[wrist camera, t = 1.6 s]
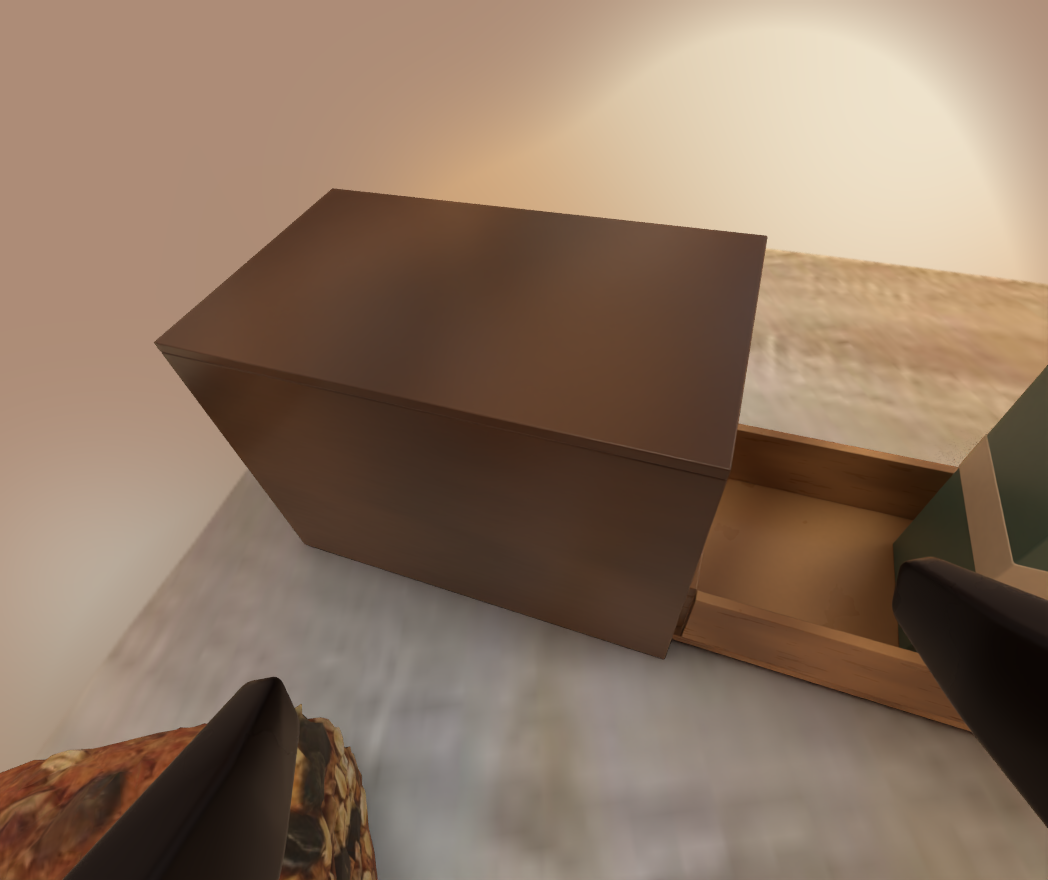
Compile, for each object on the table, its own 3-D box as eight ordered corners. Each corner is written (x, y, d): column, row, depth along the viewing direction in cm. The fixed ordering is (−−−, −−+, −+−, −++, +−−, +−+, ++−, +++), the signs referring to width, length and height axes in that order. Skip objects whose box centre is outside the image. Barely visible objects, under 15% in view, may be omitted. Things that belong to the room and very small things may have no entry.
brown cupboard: (702, 464, 28) (767, 235, 19) (664, 660, 22) (731, 470, 13) (403, 397, 33) (332, 187, 24) (304, 544, 27) (152, 342, 17)
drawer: (1174, 563, 23) (1414, 424, 16) (1293, 858, 17) (1753, 826, 10) (704, 460, 28) (743, 322, 22) (665, 657, 22) (702, 550, 15)
